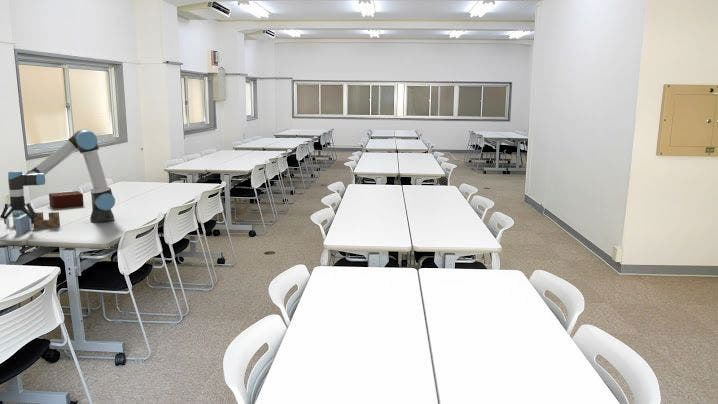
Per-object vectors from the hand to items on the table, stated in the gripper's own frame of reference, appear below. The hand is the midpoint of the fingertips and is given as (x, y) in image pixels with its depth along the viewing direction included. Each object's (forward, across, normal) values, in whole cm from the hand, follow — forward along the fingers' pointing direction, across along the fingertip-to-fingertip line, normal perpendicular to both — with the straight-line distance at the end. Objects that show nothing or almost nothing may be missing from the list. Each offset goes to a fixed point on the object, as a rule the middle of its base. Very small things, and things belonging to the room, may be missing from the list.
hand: (19, 228), depth 330 cm
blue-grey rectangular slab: (+3, 0, -5) cm, 5 cm away
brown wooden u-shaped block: (+3, -10, -15) cm, 18 cm away
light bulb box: (+3, +8, -25) cm, 26 cm away
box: (+3, +3, -86) cm, 86 cm away
